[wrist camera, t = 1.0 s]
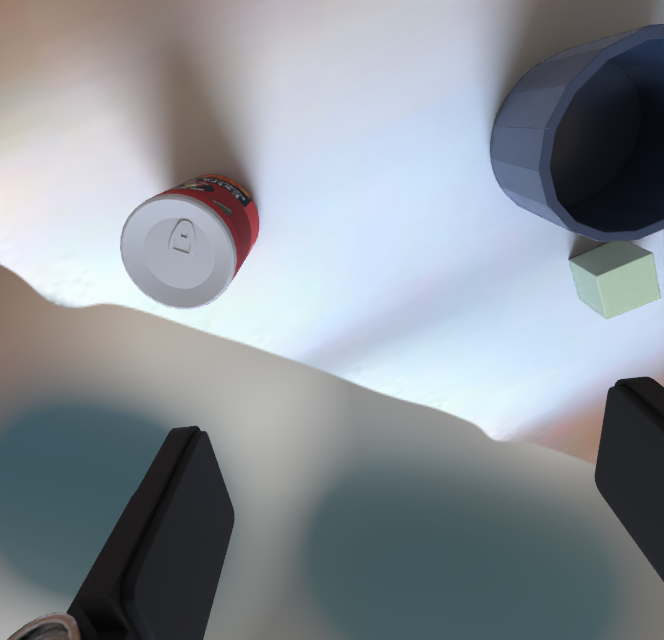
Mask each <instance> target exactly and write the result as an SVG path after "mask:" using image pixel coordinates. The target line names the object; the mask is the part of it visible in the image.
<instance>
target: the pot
mask: <svg viewBox="0 0 664 640" xmlns="http://www.w3.org/2000/svg"><path fill="white" fill-rule="evenodd" d="M490 155H491V164H492V168H493V172H494V175H495V177H496V180H497V182H498V184H499V186H500V187H501V189H502V190H503V191H504V193H505V194H506V195H507V196H508V197H509V198H510V199H511V200H512V201H514V202H515V203H516V205H518V206H520V207H522V208H524V209H526V210H528V211H530V212H532V213H534V214H536V215H538V216H540V217H542V218H544V219H546V220H548V221H550V222H552V223H554V224H556V225H559V226H561V227H563V228H565V229H567V230H569V231H571V232H574V233H577V234H579V235H582V236H585V237H587V238H590V239H593V240H595V241H598V242H609V241H626V240H638V239H640V238H643V237H645V236H648V235H650V234H652V233H655V232H657V231H660V230H662V229H664V24H656V25H649V26H645V27H642V28H638V29H635V30H631V31H628V32H624V33H621V34H617V35H614V36H610V37H607V38H603V39H600V40H596V41H593V42H590V43H586V44H583V45H579V46H576V47H572V48H569V49H566V50H565V51H563V52H561V53H559V54H556V55H554V56H552V57H550V58H548V59H546V60H544V61H543V62H541V63H539V64H537V65H536V66H535V67H534V68H533V69H531V70H530V71H529V72H528V73H527V74H526V75H525V76H523V77H522V78H521V79H520V80H519V82H518V83H517V84H516V85H515V86H514V88H513V89H512V90H511V92H510V93H509V95H508V96H507V97H506V99H505V101H504V103H503V104H502V106H501V108H500V110H499V113H498V115H497V118H496V120H495V124H494V127H493V131H492V137H491V147H490Z"/></svg>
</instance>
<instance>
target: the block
mask: <svg viewBox="0 0 664 640" xmlns="http://www.w3.org/2000/svg"><path fill="white" fill-rule="evenodd" d="M569 263H570V266H571V270H572V274H573V278H574V281H575V285H576V289H577V292H578V296H579V299H580V300H581V301H582V302H584V303H585V304H586V305H588V306H589V307H590V308H592V309H593V310H594V311H596V312H597V313H598V314H600V315H601V316H602V317H604V318H605V319H610V318H612V317H615V316H617V315H620V314H622V313H625V312H627V311H630V310H633V309H635V308H638V307H640V306H643V305H645V304H648V303H650V302H653V301H655V300H658V299H660V298H661V297H660V291H659V285H658V279H657V274H656V268H655V262H654V257H653V253H652V252H650V251H648V250H645V249H643V248H641V247H638V246H636V245H634V244H631V243H629V242H627V241H611V242H608V243H606V244H604V245H602V246H599V247H597V248H595V249H592V250H590V251H588V252H585V253H583V254H581V255H578V256H576V257H574V258H571V259H569Z"/></svg>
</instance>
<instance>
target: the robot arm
mask: <svg viewBox="0 0 664 640" xmlns="http://www.w3.org/2000/svg"><path fill="white" fill-rule="evenodd" d="M595 482H596V485H597V488H598V490H599V492H600V493H601V495H602V496H603V498H604V499H605V500H606V502H607V503H608V505H609V506H610V507H611V509H612V510H613V512H614V513H615V514H616V516H617V517H618V518H619V520H620V521H621V523H622V524H623V526H624V527H625V528H626V530H627V531H628V533H629V534H630V535H631V537H632V538H633V540H634V541H635V542H636V544H637V545H638V547H639V548H640V549H641V551H642V552H643V554H644V555H645V556H646V558H647V559H648V561H649V562H650V563H651V565H652V566H653V567H654V569H655V570H656V572H657V573H658V575H659V576H660V577H661V579H662V580H663V582H664V387H663V386H661V385H660V384H659V383H658V382H656V381H655V380H654V379H652V378H650V377H637V378H628V379H620V380H618V381H617V382H616V383H615V386H614V387H611V388H610V389H609V390H608V394H607V401H606V407H605V413H604V419H603V426H602V432H601V438H600V445H599V451H598V457H597V464H596V471H595ZM233 525H234V510H233V506H232V503H231V500H230V497H229V494H228V491H227V489H226V486H225V483H224V480H223V477H222V474H221V471H220V468H219V465H218V463H217V460H216V457H215V454H214V451H213V448H212V445H211V442H210V439H209V437H208V434H207V432H205V431H201V430H200V429H199V427H198V426H190V427H181V428H174V429H172V430H171V431H170V432H169V434H168V436H167V437H166V439H165V441H164V443H163V445H162V446H161V448H160V450H159V452H158V454H157V456H156V457H155V459H154V461H153V463H152V464H151V466H150V468H149V470H148V471H147V473H146V475H145V477H144V479H143V480H142V482H141V484H140V486H139V487H138V489H137V491H136V492H135V494H134V495H133V496H132V497H131V499H130V501H129V503H128V504H127V506H126V508H125V510H124V512H123V513H122V515H121V517H120V519H119V520H118V522H117V524H116V526H115V528H114V529H113V531H112V533H111V535H110V536H109V538H108V540H107V542H106V543H105V545H104V547H103V549H102V551H101V552H100V554H99V556H98V558H97V559H96V561H95V563H94V565H93V566H92V569H91V570H90V572H89V574H88V575H87V577H86V579H85V581H84V582H83V584H82V586H81V588H80V590H79V592H78V593H77V595H76V597H75V598H74V600H73V602H72V604H71V606H70V608H69V609H68V611H67V613H51V614H47V615H44V616H41V617H39V618H37V619H35V620H33V621H31V622H29V623H28V624H26V625H24V626H23V627H22V628H21V629H19V630H18V631H17V632H15V633H14V634H13V635H12V636H10V637H9V638H8V639H7V640H203V638H204V634H205V630H206V626H207V623H208V619H209V615H210V611H211V608H212V604H213V600H214V597H215V593H216V589H217V585H218V582H219V578H220V574H221V570H222V567H223V563H224V559H225V555H226V551H227V548H228V544H229V540H230V536H231V533H232V529H233Z"/></svg>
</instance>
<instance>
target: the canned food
mask: <svg viewBox="0 0 664 640" xmlns="http://www.w3.org/2000/svg"><path fill="white" fill-rule="evenodd" d="M258 231H259V217H258V212H257V209H256V206H255V204H254V201H253V200H252V198H251V197H250V195H249V194H248V193H247V191H246V190H245V189H244V188H243V187H242V186H240V185H239V184H238V183H236V182H235V181H233V180H231V179H229V178H227V177H223V176H219V175H205V176H200V177H198V178H195V179H193V180H191V181H188V182H186V183H184V184H181V185H179V186H177V187H174V188H172V189H170V190H167V191H165V192H163V193H160V194H158V195H156V196H154V197H152V198H150V199H148V200H146V201H145V202H143V203H142V204H141V205H139V206H138V207H137V208H136V209H135V210H134V211H133V212H132V213H131V214H130V216H129V217H128V218H127V220H126V222H125V224H124V226H123V230H122V234H121V243H120V250H121V256H122V260H123V263H124V266H125V269H126V271H127V273H128V275H129V276H130V278H131V280H132V281H133V282H134V283H135V285H136V286H137V287H138V288H139V289H140V290H141V291H142V292H143V293H144V294H145V295H146V296H148V297H149V298H151V299H152V300H154V301H156V302H157V303H160V304H162V305H165V306H167V307H172V308H176V309H194V308H199V307H202V306H205V305H207V304H209V303H211V302H212V301H214V300H216V299H217V298H218V297H219V296H220V295H221V294H222V293H223V292H224V291H225V290H226V289H227V287H228V286H229V284H230V283H231V281H232V280H233V278H234V277H235V275H236V274H237V272H238V270H239V269H240V267H241V265H242V264H243V262H244V261H245V259H246V257H247V256H248V254H249V252H250V251H251V249H252V247H253V246H254V244H255V242H256V239H257V237H258Z"/></svg>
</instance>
